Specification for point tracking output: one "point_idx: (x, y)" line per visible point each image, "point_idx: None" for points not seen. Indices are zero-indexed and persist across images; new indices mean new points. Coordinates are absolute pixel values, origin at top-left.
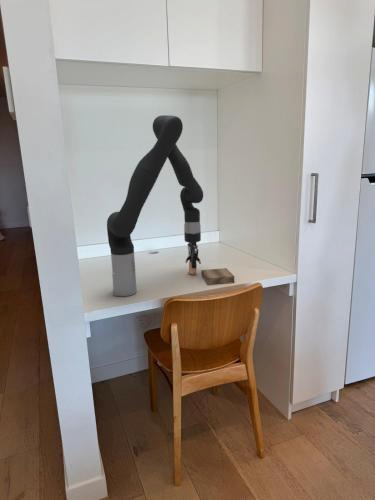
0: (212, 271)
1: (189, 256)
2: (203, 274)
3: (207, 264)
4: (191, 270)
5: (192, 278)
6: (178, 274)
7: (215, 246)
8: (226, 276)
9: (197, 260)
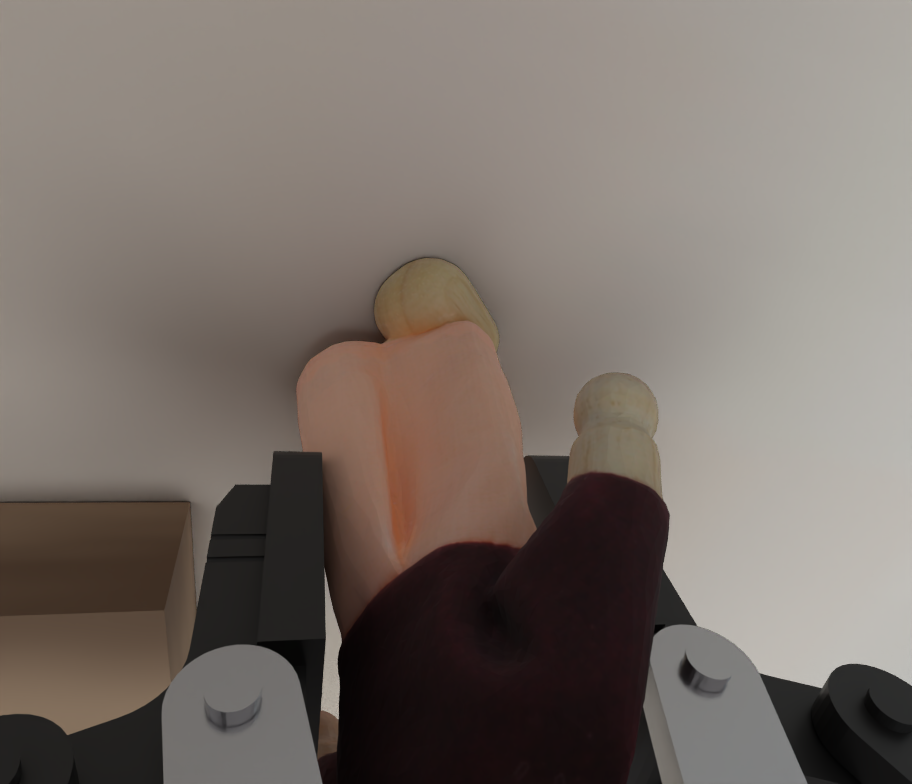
0: None
1: (533, 723)
2: None
3: (776, 676)
4: (328, 394)
5: (67, 294)
6: (515, 18)
7: None
8: None
9: (329, 776)
